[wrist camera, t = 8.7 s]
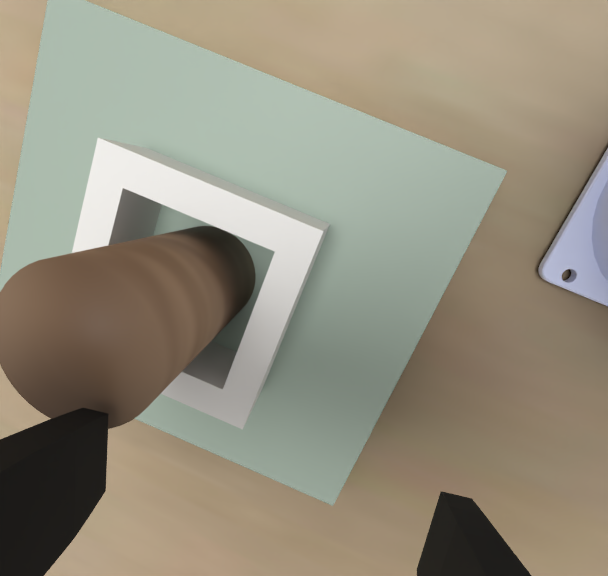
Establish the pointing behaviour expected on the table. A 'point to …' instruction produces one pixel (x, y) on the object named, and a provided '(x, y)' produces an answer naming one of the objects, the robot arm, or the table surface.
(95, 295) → the walnut peg
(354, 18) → the table surface
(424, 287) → the socket board
